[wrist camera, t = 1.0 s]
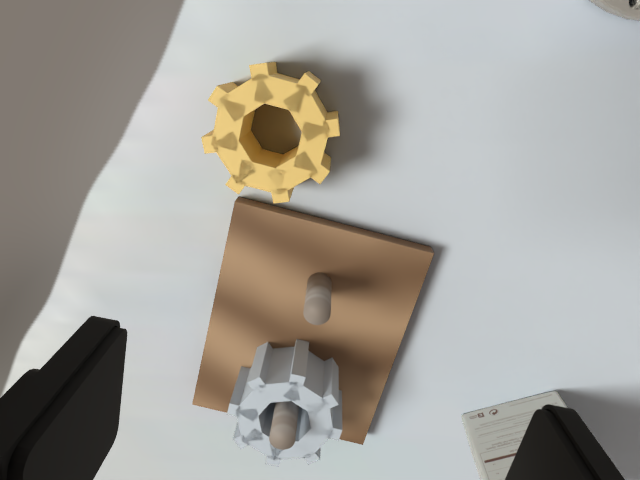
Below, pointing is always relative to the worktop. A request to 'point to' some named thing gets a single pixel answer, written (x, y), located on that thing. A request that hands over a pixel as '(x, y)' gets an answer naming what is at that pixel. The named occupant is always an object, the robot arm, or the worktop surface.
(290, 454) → the slate gear
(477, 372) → the worktop surface
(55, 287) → the worktop surface
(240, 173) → the ochre gear
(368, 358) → the gear board
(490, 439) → the supplement box
